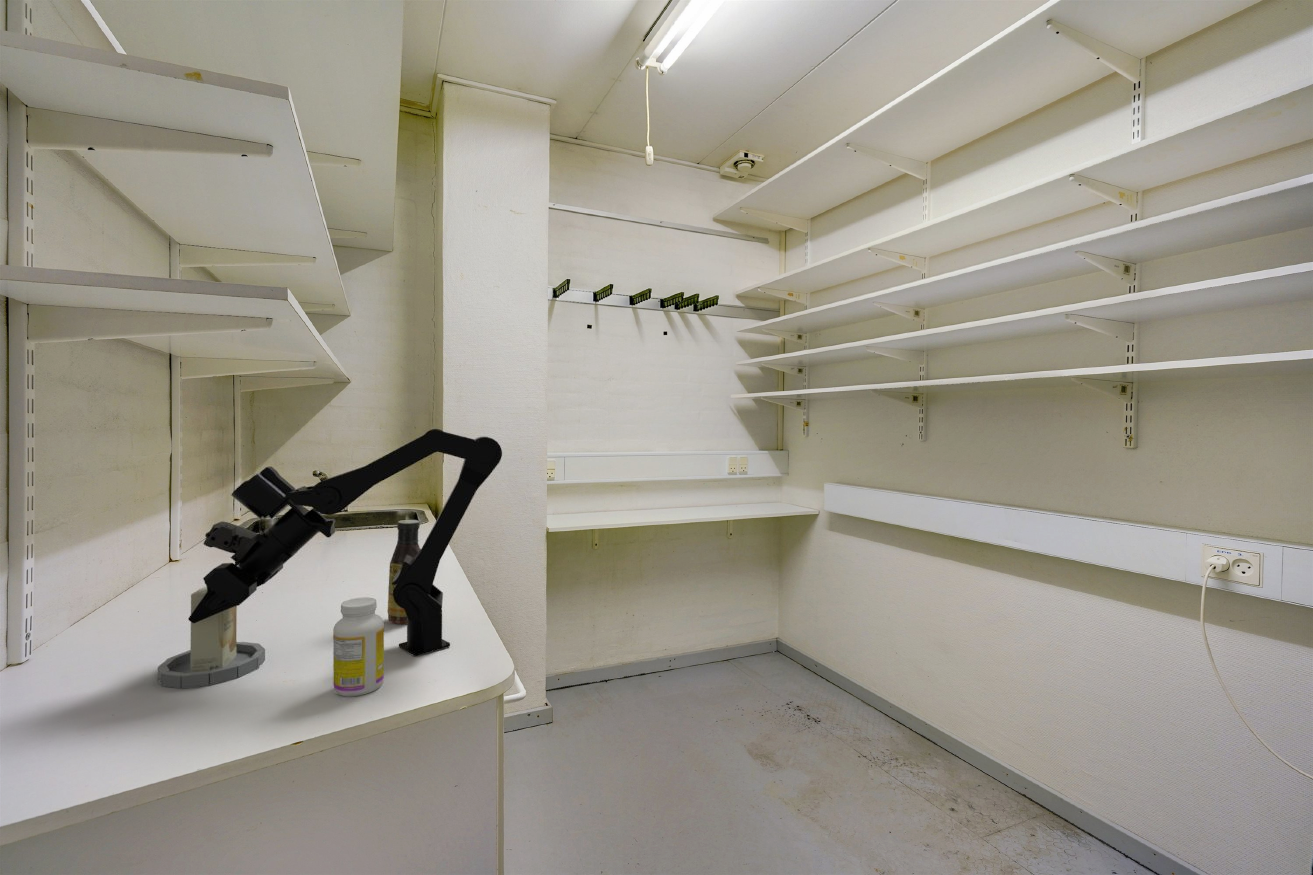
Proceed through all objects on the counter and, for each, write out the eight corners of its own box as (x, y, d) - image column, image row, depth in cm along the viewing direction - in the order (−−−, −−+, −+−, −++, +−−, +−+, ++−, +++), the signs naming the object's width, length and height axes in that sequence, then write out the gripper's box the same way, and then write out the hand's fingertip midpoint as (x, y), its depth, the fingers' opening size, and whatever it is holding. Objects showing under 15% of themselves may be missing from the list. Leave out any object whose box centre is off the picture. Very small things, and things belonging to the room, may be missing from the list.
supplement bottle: (371, 674, 90) (372, 592, 90) (392, 686, 86) (392, 601, 85) (325, 688, 85) (325, 602, 84) (344, 703, 80) (345, 611, 80)
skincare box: (223, 671, 89) (223, 592, 88) (188, 674, 87) (189, 594, 87) (238, 655, 95) (238, 581, 94) (206, 658, 93) (206, 583, 93)
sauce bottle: (380, 623, 113) (381, 522, 112) (403, 613, 118) (404, 517, 118) (407, 627, 110) (408, 524, 110) (429, 617, 116) (430, 519, 116)
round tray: (274, 668, 91) (274, 657, 91) (167, 696, 82) (167, 683, 81) (251, 646, 100) (251, 636, 100) (152, 669, 90) (152, 657, 90)
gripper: (262, 497, 100) (185, 564, 97) (220, 513, 83) (125, 595, 79) (313, 540, 103) (240, 606, 100) (283, 564, 85) (194, 646, 82)
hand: (203, 612), depth 90 cm, fingers open, 8 cm apart
